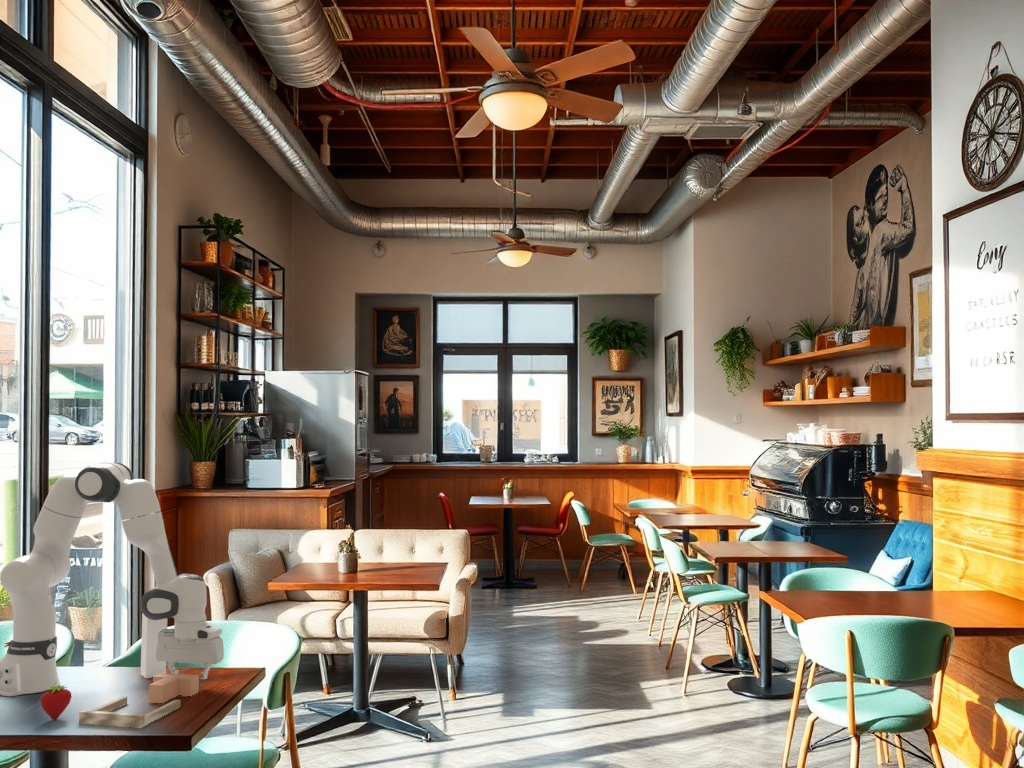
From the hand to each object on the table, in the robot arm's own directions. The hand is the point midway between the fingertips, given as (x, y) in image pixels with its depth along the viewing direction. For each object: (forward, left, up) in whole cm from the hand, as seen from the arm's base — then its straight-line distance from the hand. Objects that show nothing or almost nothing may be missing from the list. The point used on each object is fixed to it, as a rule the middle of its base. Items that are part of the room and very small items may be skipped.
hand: (188, 677), depth 262 cm
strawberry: (-17, -35, -3) cm, 39 cm away
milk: (-18, +10, -3) cm, 21 cm away
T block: (0, -11, -3) cm, 11 cm away
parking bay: (0, -27, -3) cm, 27 cm away
